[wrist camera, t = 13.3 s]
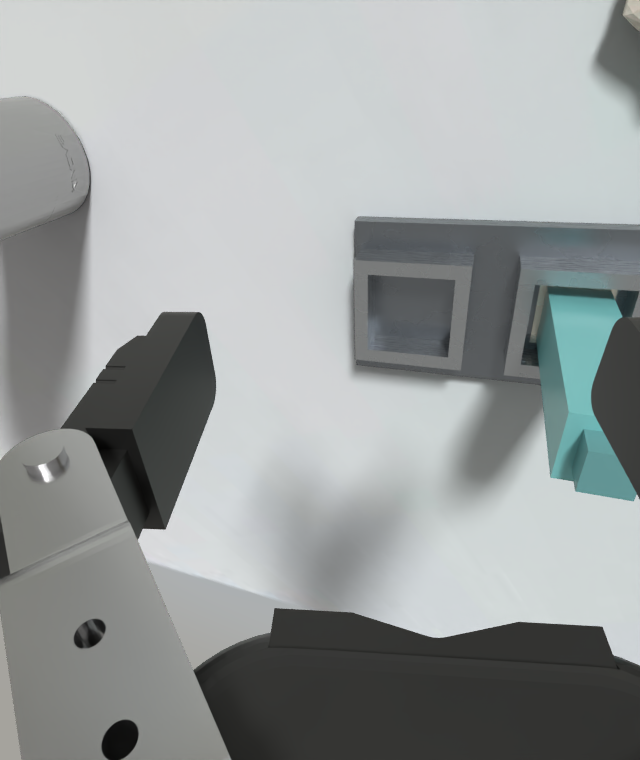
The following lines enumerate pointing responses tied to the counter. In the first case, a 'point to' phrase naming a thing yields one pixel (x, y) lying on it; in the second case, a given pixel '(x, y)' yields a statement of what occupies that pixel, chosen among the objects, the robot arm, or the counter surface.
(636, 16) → the rock
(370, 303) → the panel
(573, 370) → the plug
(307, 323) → the counter surface
